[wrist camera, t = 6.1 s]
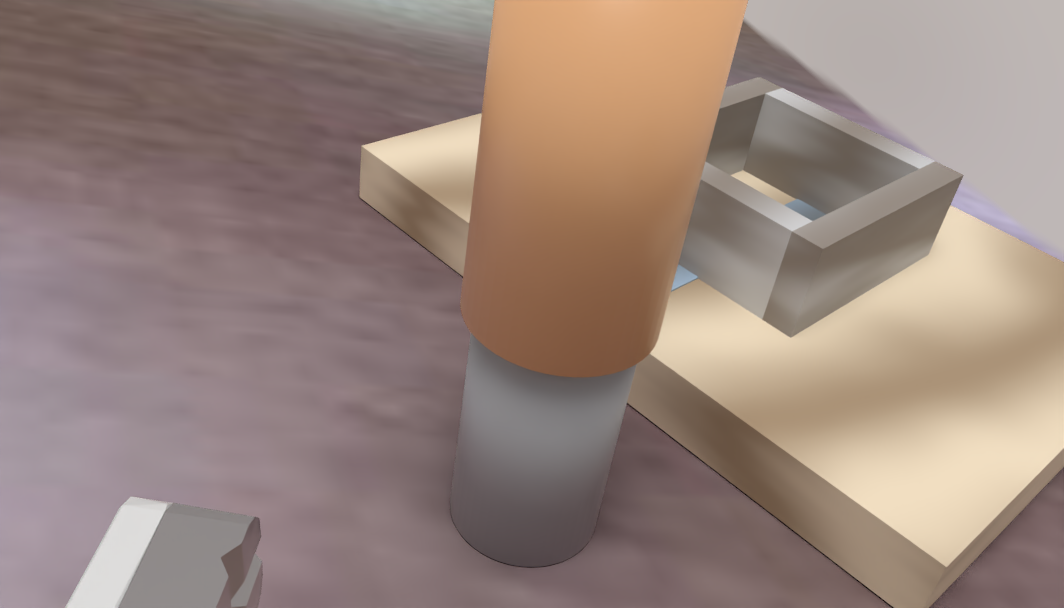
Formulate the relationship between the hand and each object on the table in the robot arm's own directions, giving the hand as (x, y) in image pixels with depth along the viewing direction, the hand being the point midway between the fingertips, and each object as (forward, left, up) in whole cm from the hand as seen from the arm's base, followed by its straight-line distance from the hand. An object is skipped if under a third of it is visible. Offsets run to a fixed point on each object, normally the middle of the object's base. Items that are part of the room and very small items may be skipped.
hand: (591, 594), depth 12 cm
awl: (-6, +6, -9) cm, 12 cm away
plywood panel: (-9, +19, -9) cm, 23 cm away
